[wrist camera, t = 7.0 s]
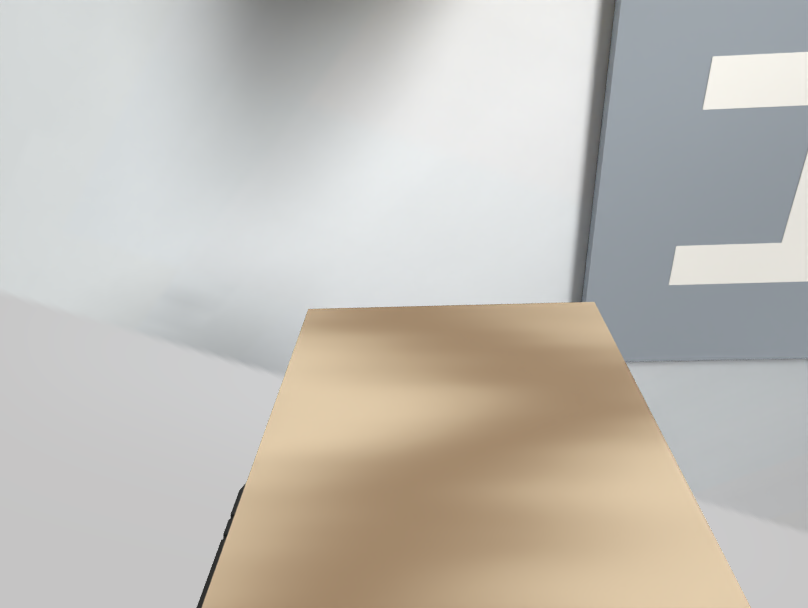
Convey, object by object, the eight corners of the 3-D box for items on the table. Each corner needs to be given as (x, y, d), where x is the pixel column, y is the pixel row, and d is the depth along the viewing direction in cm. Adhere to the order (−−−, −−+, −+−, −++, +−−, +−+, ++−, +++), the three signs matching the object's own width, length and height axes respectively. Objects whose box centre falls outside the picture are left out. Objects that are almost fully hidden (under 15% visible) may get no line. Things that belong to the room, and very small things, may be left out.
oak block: (594, 301, 10) (774, 653, 5) (561, 565, 14) (645, 938, 8) (308, 309, 10) (186, 650, 5) (346, 565, 14) (296, 927, 9)
